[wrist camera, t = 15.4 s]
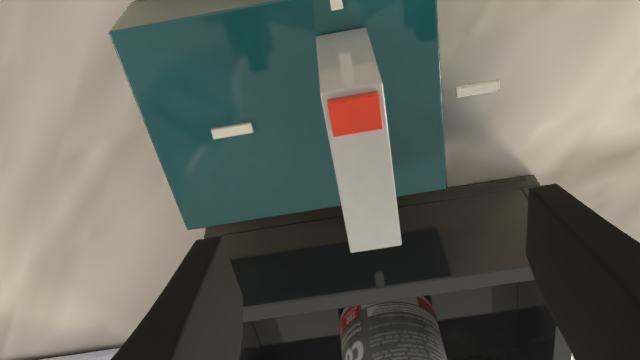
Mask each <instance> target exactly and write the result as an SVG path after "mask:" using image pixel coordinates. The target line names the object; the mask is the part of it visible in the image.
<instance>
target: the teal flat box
mask: <svg viewBox="0 0 640 360" xmlns="http://www.w3.org/2000/svg"><path fill="white" fill-rule="evenodd" d="M359 28H367V31H368V34H369V38H370V41H371V45H372V48H373V51H374V55H375V58H376V62H377V65H378V68H379V72H380V75H381V79H382V82H383V88H384V97H385V105H386V113H387V122H388V130H389V138H390V147H391V155H392V164H393V172H394V180H395V189H396V197H399V196H406V195H412V194H418V193H425V192H431V191H437V190H443V189H447V178H446V160H445V141H444V123H443V105H442V87H441V69H440V51H439V33H438V15H437V0H140V1H135V2H132V3H131V4H130V5H129V6H128V8H127V9H126V10H125V12H124V13H123V14H122V16H121V17H120V18H119V20H118V21H117V22H116V23H115V25H114V26H113V27H112V29H111V30H110V31H109V35H110V37H111V40H112V42H113V45H114V47H115V50H116V52H117V55H118V57H119V60H120V62H121V65H122V67H123V70H124V72H125V75H126V77H127V80H128V82H129V85H130V87H131V90H132V93H133V95H134V98H135V100H136V103H137V105H138V108H139V110H140V113H141V115H142V118H143V120H144V123H145V125H146V128H147V130H148V133H149V135H150V138H151V140H152V143H153V145H154V148H155V150H156V153H157V155H158V158H159V160H160V163H161V165H162V168H163V170H164V173H165V175H166V178H167V180H168V183H169V185H170V188H171V190H172V193H173V195H174V198H175V200H176V203H177V205H178V208H179V210H180V213H181V215H182V218H183V220H184V223H185V225H186V228H187V230H192V229H198V228H204V227H211V226H217V225H223V224H230V223H236V222H242V221H248V220H255V219H261V218H267V217H274V216H280V215H286V214H292V213H299V212H305V211H311V210H318V209H324V208H330V207H336V206H341V202H340V196H339V191H338V186H337V181H336V175H335V170H334V165H333V160H332V154H331V149H330V144H329V139H328V134H327V128H326V123H325V118H324V113H323V107H322V102H321V97H320V88H319V75H318V63H317V50H316V37H317V36H321V35H326V34H332V33H337V32H343V31H348V30H354V29H359ZM499 90H500V81H499V80H498V79H497V80H491V81H486V82H480V83H474V84H468V85H462V86H456V97H457V98H460V97H466V96H472V95H478V94H484V93H490V92H496V91H499Z"/></svg>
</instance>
